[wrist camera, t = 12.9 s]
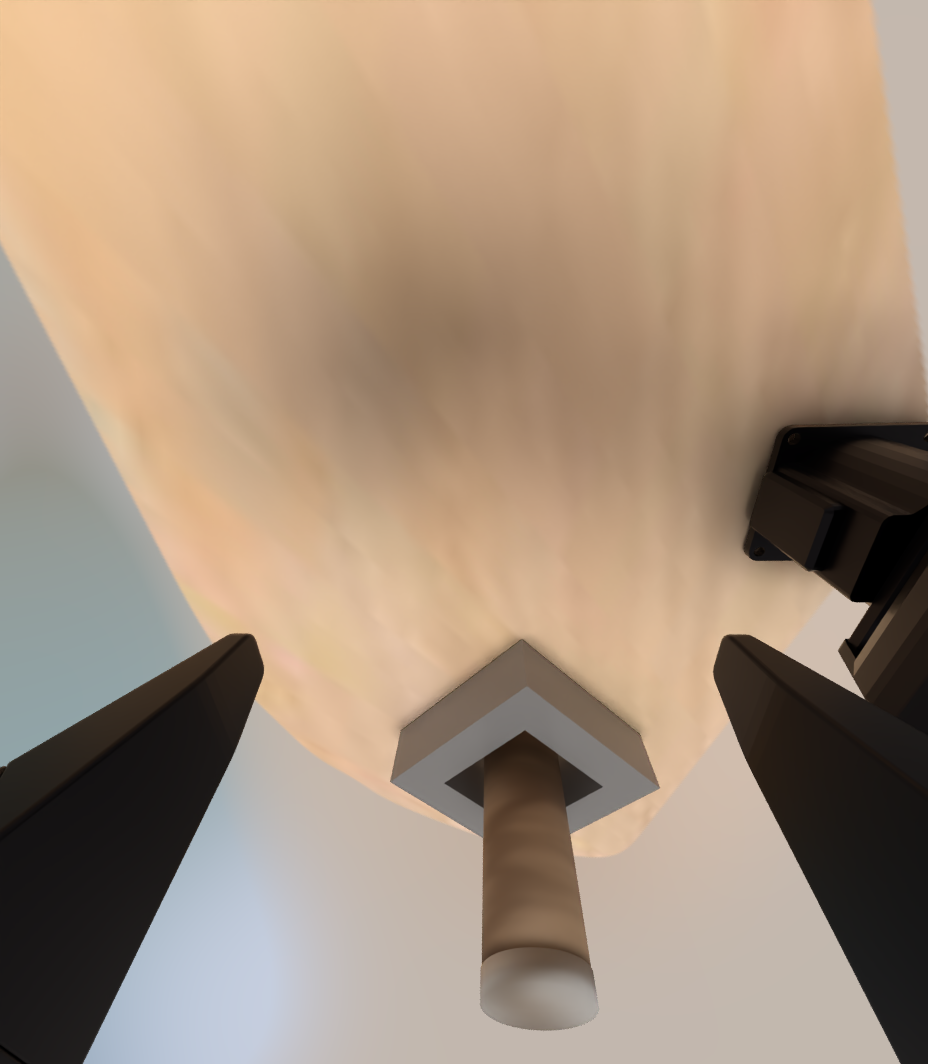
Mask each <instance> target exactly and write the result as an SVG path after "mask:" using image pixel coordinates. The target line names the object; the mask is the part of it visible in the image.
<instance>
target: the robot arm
mask: <svg viewBox="0 0 928 1064" xmlns="http://www.w3.org/2000/svg"><path fill="white" fill-rule="evenodd" d="M927 432H928V422H916V423H871V424H827V425H791V426H787V427H785V428H783V429H782V430H781V431H780V432H779V433H778V435H777V437H776V441H775V444H774V448H773V451H772V455H771V458H770V461H769V465H768V468H767V472H766V474H765V476H764V477H763V479H762V483H761V486H760V490H759V493H758V497H757V500H756V504H755V507H754V511H753V514H752V517H751V521H750V526H751V527H750V530H749V534H748V537H747V541H746V544H745V548H744V552H745V554H746V555H747V556H748V557H749V558H751V559H752V560H755V561H795V562H796V563H797V564H799V565H800V566H801V567H802V568H804V569H805V570H807V571H813V572H814V573H815V574H817V575H818V576H819V577H821V578H822V579H823V580H825V581H826V582H827V583H828V584H830V585H831V586H832V587H834V588H835V589H836V590H838V591H839V592H840V593H842V594H843V595H844V596H845V597H847V598H848V599H849V600H851V601H852V602H865V603H866V604H868V605H869V606H870V607H869V608H868V610H867V611H866V613H865V615H864V616H863V618H862V619H861V621H860V623H859V624H858V626H857V627H856V629H855V631H854V632H853V634H852V635H851V637H850V638H849V639H845V640H844V642H843V643H842V645H841V646H840V648H839V650H838V652H839V653H840V655H841V657H842V659H843V661H844V662H845V664H846V666H847V668H848V670H849V671H850V673H851V675H852V677H853V678H854V680H855V682H856V684H857V685H858V687H859V689H860V691H861V693H862V694H863V696H864V698H865V699H863V698H861V697H859V696H858V695H856V694H854V693H852V692H850V691H848V690H847V689H845V688H843V687H841V686H840V685H838V684H836V683H834V682H833V681H831V680H829V679H827V678H825V677H824V676H822V675H820V674H818V673H817V672H815V671H813V670H811V669H810V668H808V667H806V666H804V665H802V664H801V663H799V662H797V661H795V660H793V659H791V658H790V657H788V656H786V655H785V654H783V653H781V652H779V651H778V650H776V649H774V648H772V647H770V646H769V645H767V644H765V643H763V642H762V641H760V640H758V639H756V638H754V637H753V636H750V635H733V634H729V635H726V636H724V638H723V639H722V641H721V644H720V647H719V651H718V654H717V658H716V661H715V664H714V669H713V674H714V680H715V683H716V685H717V688H718V690H719V693H720V696H721V698H722V701H723V703H724V706H725V708H726V711H727V714H728V716H729V719H730V721H731V724H732V726H733V729H734V731H735V734H736V737H737V739H738V742H739V744H740V747H741V749H742V752H743V754H744V756H745V759H746V761H747V763H748V765H749V767H750V769H751V771H752V773H753V775H754V777H755V779H756V781H757V783H758V785H759V787H760V789H761V791H762V793H763V795H764V797H765V799H766V801H767V803H768V805H769V807H770V809H771V811H772V813H773V815H774V817H775V819H776V821H777V822H778V824H779V826H780V828H781V830H782V832H783V834H784V836H785V838H786V840H787V842H788V844H789V846H790V848H791V850H792V852H793V854H794V856H795V858H796V860H797V862H798V863H799V865H800V868H801V869H802V871H803V873H804V875H805V877H806V879H807V881H808V883H809V885H810V887H811V889H812V891H813V893H814V895H815V897H816V899H817V901H818V903H819V905H820V907H821V909H822V911H823V913H824V915H825V916H826V918H827V920H828V922H829V924H830V926H831V928H832V930H833V932H834V934H835V936H836V938H837V940H838V942H839V944H840V946H841V948H842V950H843V952H844V954H845V956H846V958H847V959H848V962H849V963H850V966H851V967H852V969H853V971H854V973H855V975H856V977H857V979H858V981H859V983H860V985H861V987H862V989H863V991H864V993H865V994H866V997H867V999H868V1001H869V1003H870V1005H871V1007H872V1009H873V1011H874V1012H875V1014H876V1016H877V1018H878V1020H879V1022H880V1024H881V1026H882V1028H883V1030H884V1032H885V1034H886V1036H887V1038H888V1040H889V1042H890V1044H891V1046H892V1048H893V1049H894V1052H895V1054H896V1056H897V1058H898V1059H899V1062H900V1063H901V1064H928V435H927V436H926V437H925V438H924V436H925V434H926V433H927ZM794 433H795V437H794V439H793V440H792V441H791V442H788V439H789V437H790V436H791V435H792V434H794ZM759 547H760V549H759V550H758V551H757V552H754V551H755V549H757V548H759ZM263 674H264V665H263V661H262V658H261V655H260V652H259V649H258V645H257V642H256V639H255V637H254V636H253V635H251V634H238V633H234V634H229V635H227V636H225V637H224V638H222V639H220V640H219V641H217V642H215V643H213V644H212V645H210V646H208V647H207V648H205V649H203V650H201V651H200V652H198V653H196V654H195V655H193V656H191V657H190V658H188V659H186V660H185V661H183V662H181V663H179V664H177V665H176V666H174V667H172V668H171V669H169V670H167V671H165V672H164V673H162V674H160V675H159V676H157V677H155V678H153V679H152V680H150V681H148V682H147V683H145V684H143V685H141V686H140V687H138V688H136V689H134V690H133V691H131V692H129V693H128V694H126V695H124V696H122V697H121V698H119V699H117V700H116V701H114V702H112V703H111V704H109V705H107V706H106V707H104V708H102V709H100V710H99V711H97V712H95V713H93V714H92V715H90V716H88V717H86V718H85V719H83V720H81V721H79V722H78V723H76V724H74V725H73V726H71V727H69V728H67V729H66V730H64V731H63V732H61V733H59V734H57V735H55V736H54V737H52V738H50V739H49V740H47V741H46V742H43V743H42V744H40V745H38V746H37V747H35V748H33V749H31V750H30V751H28V752H26V753H24V754H23V755H21V756H19V757H18V758H16V759H14V760H12V761H11V762H9V763H8V765H7V767H6V766H3V767H0V1064H83V1062H84V1060H85V1058H86V1056H87V1054H88V1052H89V1050H90V1048H91V1046H92V1044H93V1042H94V1040H95V1038H96V1035H97V1034H98V1031H99V1029H100V1027H101V1025H102V1023H103V1021H104V1019H105V1017H106V1015H107V1013H108V1011H109V1009H110V1007H111V1005H112V1003H113V1001H114V999H115V997H116V995H117V992H118V991H119V988H120V986H121V984H122V982H123V980H124V978H125V976H126V974H127V972H128V970H129V968H130V966H131V964H132V962H133V960H134V958H135V956H136V953H137V952H138V949H139V947H140V945H141V943H142V941H143V939H144V937H145V935H146V933H147V931H148V929H149V927H150V925H151V923H152V921H153V919H154V916H155V915H156V913H157V911H158V909H159V907H160V904H161V902H162V900H163V898H164V896H165V894H166V892H167V890H168V888H169V886H170V884H171V882H172V880H173V878H174V876H175V874H176V872H177V869H178V868H179V865H180V864H181V861H182V859H183V857H184V855H185V853H186V851H187V849H188V847H189V845H190V843H191V841H192V839H193V837H194V835H195V833H196V831H197V829H198V827H199V825H200V822H201V820H202V818H203V816H204V814H205V812H206V810H207V808H208V806H209V804H210V802H211V799H212V798H213V796H214V793H215V792H216V790H217V787H218V786H219V783H220V782H221V779H222V777H223V775H224V773H225V771H226V769H227V767H228V765H229V763H230V761H231V759H232V757H233V754H234V752H235V749H236V747H237V745H238V742H239V740H240V737H241V735H242V732H243V729H244V727H245V724H246V721H247V718H248V716H249V713H250V710H251V708H252V705H253V702H254V700H255V697H256V694H257V692H258V689H259V686H260V684H261V681H262V678H263Z"/></svg>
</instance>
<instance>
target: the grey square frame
mask: <svg viewBox="0 0 928 1064" xmlns="http://www.w3.org/2000/svg"><path fill="white" fill-rule="evenodd" d="M525 730H526V731H527V732H528V733H530V734H531V735H532V736H534V737H535V738H537V739H538V740H539V741H541V742H542V743H544V744H545V745H546V746H548V747H549V748H550V749H552V750H553V751H555V752H556V753H557V754H558V760H559V767H560V773H561V780H562V786H563V792H564V799H565V805H566V811H567V818H568V824H569V830H570V834H571V833H573V832H575V831H577V830H579V829H581V828H583V827H585V826H587V825H589V824H591V823H593V822H595V821H597V820H599V819H601V818H603V817H605V816H607V815H609V814H611V813H612V812H614V811H616V810H618V809H620V808H622V807H624V806H626V805H628V804H630V803H632V802H634V801H636V800H638V799H640V798H642V797H644V796H646V795H648V794H650V793H652V792H654V791H656V790H658V789H659V788H660V787H659V784H658V781H657V779H656V776H655V773H654V771H653V768H652V765H651V763H650V760H649V757H648V755H647V752H646V749H645V746H644V744H643V741H642V738H641V736H640V734H638V733H637V732H636V731H635V730H633V729H632V728H631V727H630V726H628V725H627V724H626V723H625V722H624V721H622V720H621V719H620V718H619V717H617V716H616V715H615V714H614V713H612V712H611V711H610V710H609V709H607V708H606V707H605V706H604V705H602V704H601V703H600V702H599V701H597V700H596V699H595V698H594V697H593V696H591V695H590V694H589V693H588V692H586V691H585V690H584V689H583V688H581V687H580V686H579V685H578V684H576V683H575V682H574V681H573V680H571V679H570V678H569V677H568V676H567V675H565V674H564V673H563V672H562V671H560V670H559V669H558V668H557V667H555V666H554V665H553V664H552V663H550V662H549V661H548V660H547V659H545V658H544V657H543V656H542V655H540V654H539V653H538V652H537V651H536V650H534V649H533V648H532V647H531V646H529V645H528V644H527V643H526V642H524V641H523V640H520V641H519V642H518V643H516V644H515V645H514V646H512V647H511V648H510V649H508V650H507V651H506V652H504V653H503V654H502V655H500V656H499V657H498V658H497V659H495V660H494V661H493V662H491V663H490V664H489V665H487V666H486V667H485V668H483V669H482V670H481V671H479V672H478V673H477V674H475V675H474V676H473V677H471V678H470V679H469V680H467V681H466V682H465V683H464V684H462V685H461V686H460V687H458V688H457V689H456V690H454V691H453V692H452V693H450V694H449V695H448V696H446V697H445V698H444V699H442V700H441V701H440V702H438V703H437V704H436V705H434V706H433V707H432V708H430V709H429V710H428V711H427V712H425V713H424V714H423V715H421V716H420V717H419V718H417V719H416V720H415V721H413V722H412V723H411V724H409V725H408V726H407V727H405V728H404V729H403V730H401V732H400V737H399V742H398V747H397V751H396V756H395V761H394V766H393V771H392V776H391V780H390V782H391V783H393V784H394V785H396V786H398V787H399V788H401V789H403V790H404V791H406V792H408V793H409V794H411V795H413V796H414V797H416V798H418V799H419V800H421V801H423V802H424V803H426V804H428V805H429V806H431V807H433V808H434V809H436V810H438V811H439V812H441V813H442V814H444V815H446V816H447V817H449V818H451V819H452V820H454V821H456V822H457V823H459V824H461V825H462V826H464V827H466V828H467V829H469V830H471V831H472V832H474V833H476V834H477V835H479V836H481V837H482V838H483V818H484V757H485V756H486V755H488V754H489V753H491V752H492V751H494V750H495V749H497V748H499V747H500V746H502V745H503V744H505V743H506V742H508V741H509V740H511V739H512V738H514V737H515V736H517V735H518V734H520V733H522V732H523V731H525Z"/></svg>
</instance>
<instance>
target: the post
mask: <svg viewBox="0 0 928 1064" xmlns="http://www.w3.org/2000/svg"><path fill="white" fill-rule="evenodd" d="M480 984H481V985H480V986H481V987H480V1006H481V1009H482V1011H483V1012H484V1013H485V1014H486V1015H487V1016H489V1017H490V1018H492V1019H494V1020H496V1021H498V1022H500V1023H502V1024H506V1025H509V1026H512V1027H517V1028H522V1029H529V1030H562V1029H569V1028H573V1027H577V1026H580V1025H583V1024H585V1023H588V1022H589V1021H591V1020H592V1019H594V1018H595V1017H596V1015H597V1014H598V1011H599V1007H598V1000H597V994H596V988H595V981H594V975H593V970H592V968H591V964H590V958H589V951H588V945H587V938H586V932H585V926H584V919H583V913H582V907H581V900H580V894H579V888H578V881H577V876H576V869H575V862H574V856H573V849H572V843H571V837H570V830H569V824H568V818H567V811H566V805H565V799H564V792H563V786H562V780H561V773H560V767H559V760H558V754H557V753H556V752H555V751H553V750H552V749H550V748H549V747H548V746H546V745H545V744H544V743H542V742H541V741H539V740H538V739H537V738H535V737H534V736H532V735H531V734H530V733H528V732H527V731H526V730H525V731H523V732H522V733H520V734H518V735H517V736H515V737H514V738H512V739H511V740H509V741H508V742H506V743H505V744H503V745H502V746H500V747H499V748H497V749H495V750H494V751H492V752H491V753H489V754H488V755H486V756H485V757H484V818H483V910H482V966H481V982H480Z"/></svg>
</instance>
